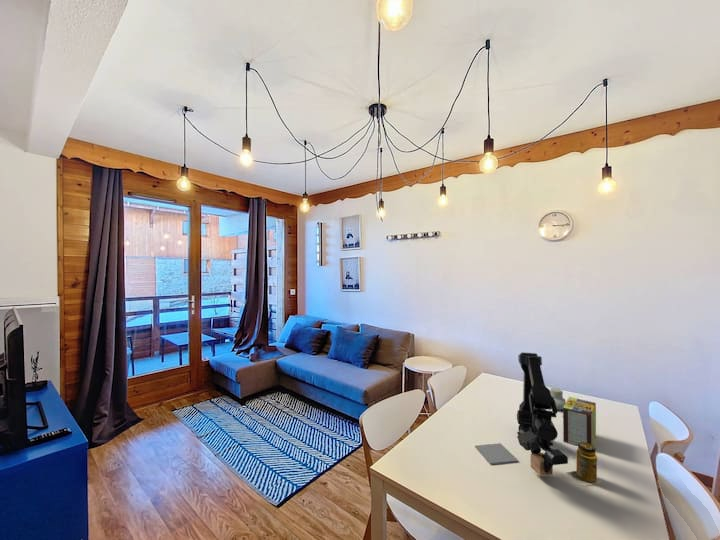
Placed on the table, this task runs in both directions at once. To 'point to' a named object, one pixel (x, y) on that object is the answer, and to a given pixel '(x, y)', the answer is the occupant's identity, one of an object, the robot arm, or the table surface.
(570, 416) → the protein box
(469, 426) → the table surface
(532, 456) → the walnut cube
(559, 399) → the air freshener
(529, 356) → the robot arm
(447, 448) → the table surface
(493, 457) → the slate pad
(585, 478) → the condiment
